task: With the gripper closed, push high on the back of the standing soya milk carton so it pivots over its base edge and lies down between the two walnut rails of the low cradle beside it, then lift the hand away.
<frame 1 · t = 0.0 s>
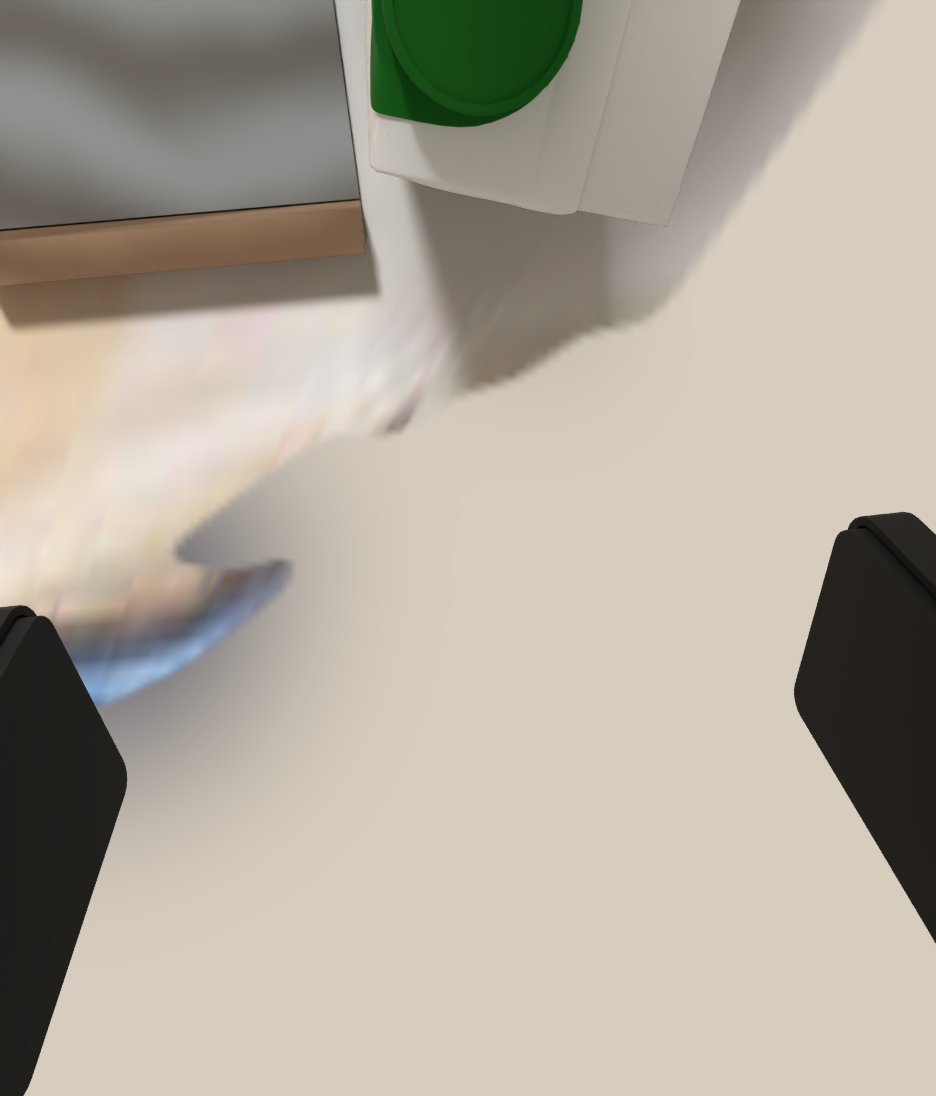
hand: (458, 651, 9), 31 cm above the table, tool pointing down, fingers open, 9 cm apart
soya milk: (480, 17, 31), on the table
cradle: (116, 45, 31), on the table
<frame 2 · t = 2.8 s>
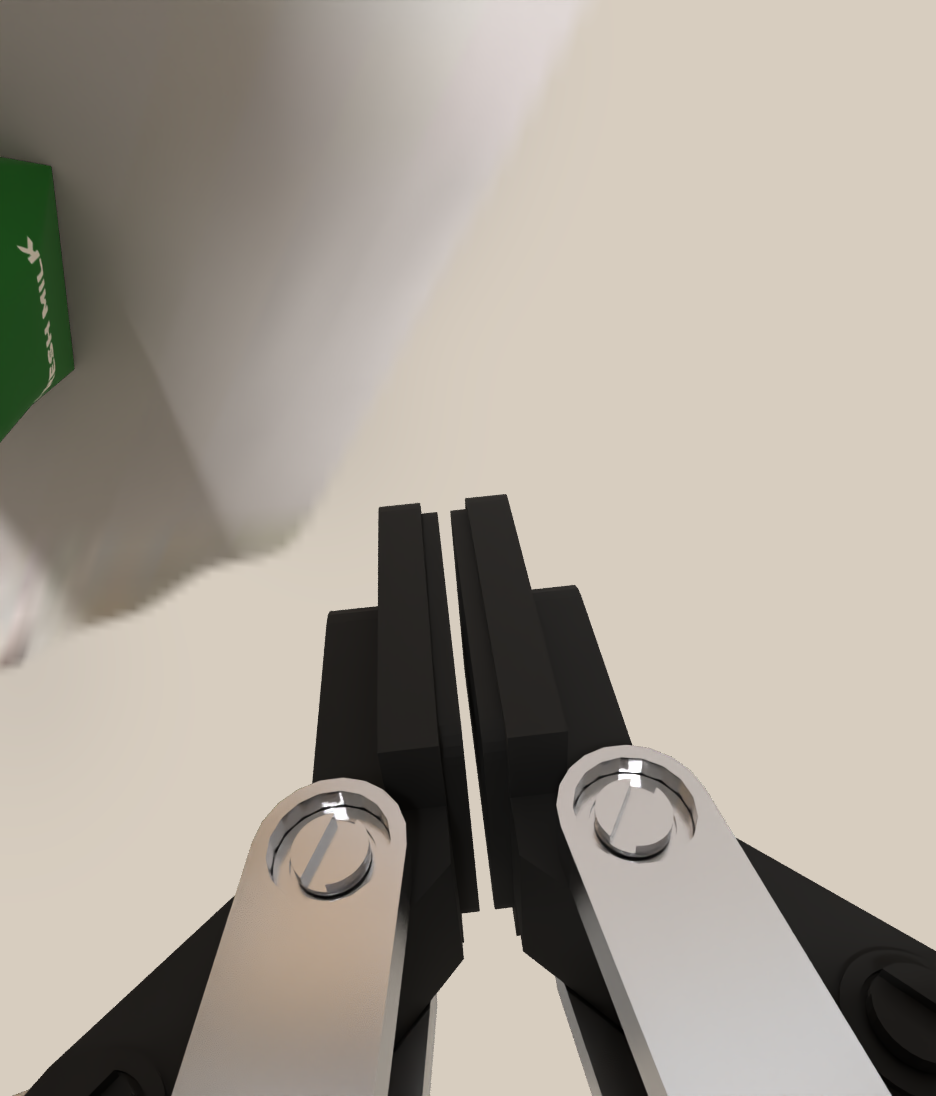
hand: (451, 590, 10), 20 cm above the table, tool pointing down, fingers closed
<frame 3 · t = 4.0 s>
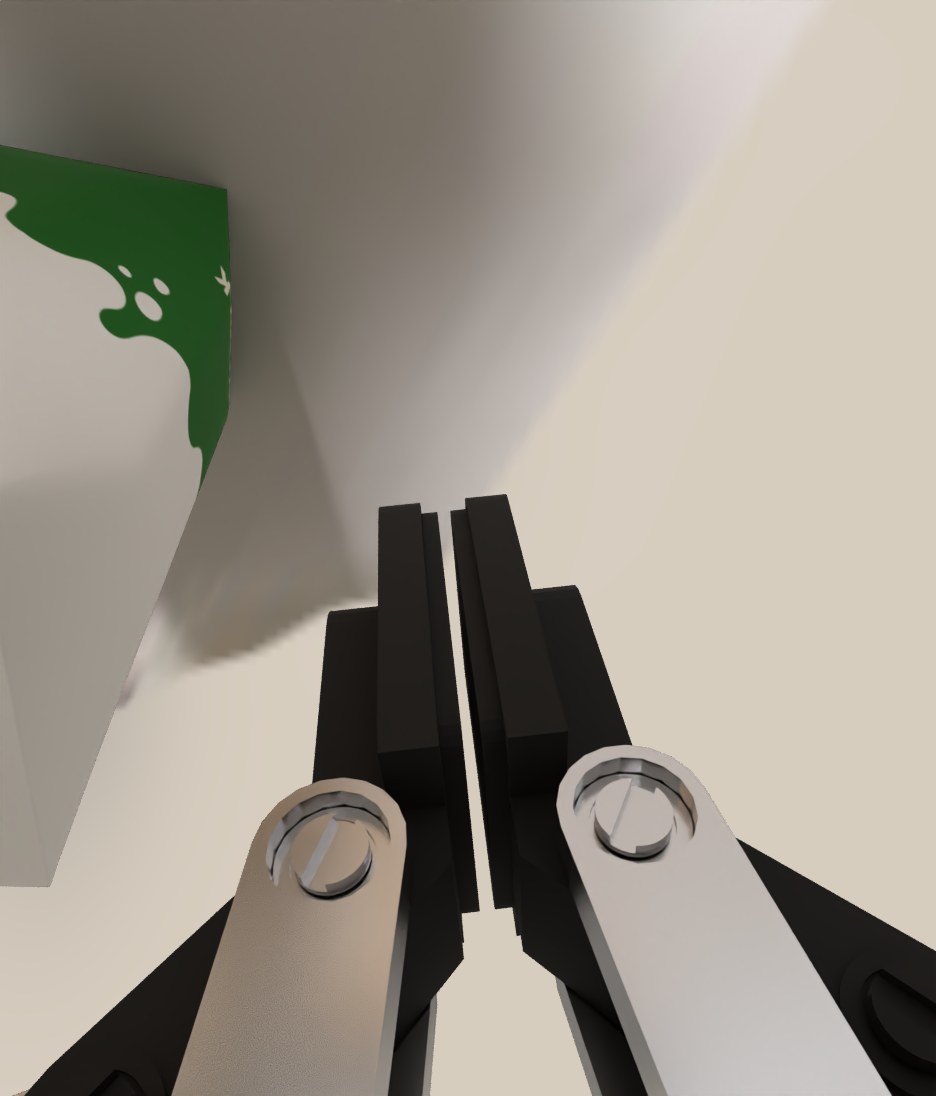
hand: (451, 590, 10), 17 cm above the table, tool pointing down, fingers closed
soya milk: (113, 282, 24), on the table
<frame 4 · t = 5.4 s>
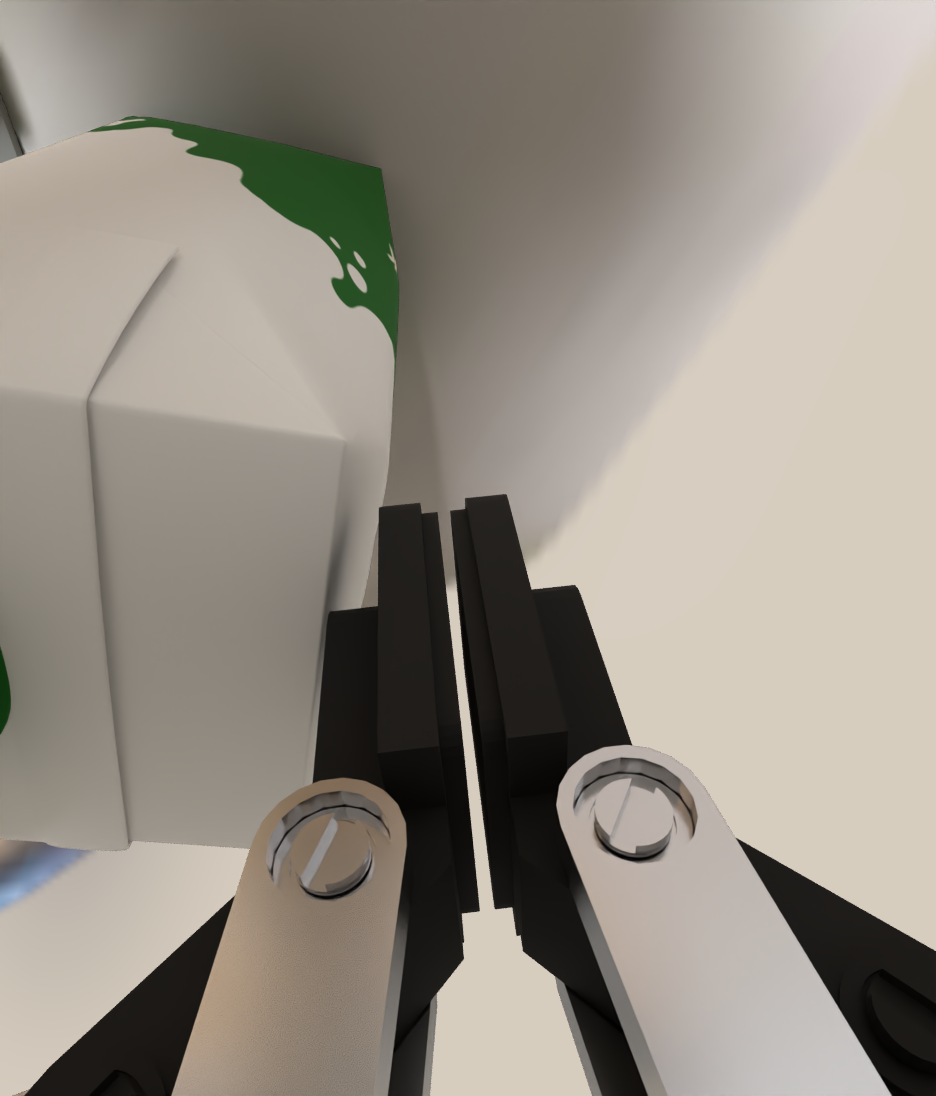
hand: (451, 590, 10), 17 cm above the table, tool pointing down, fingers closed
soya milk: (259, 262, 24), on the table, touching gripper
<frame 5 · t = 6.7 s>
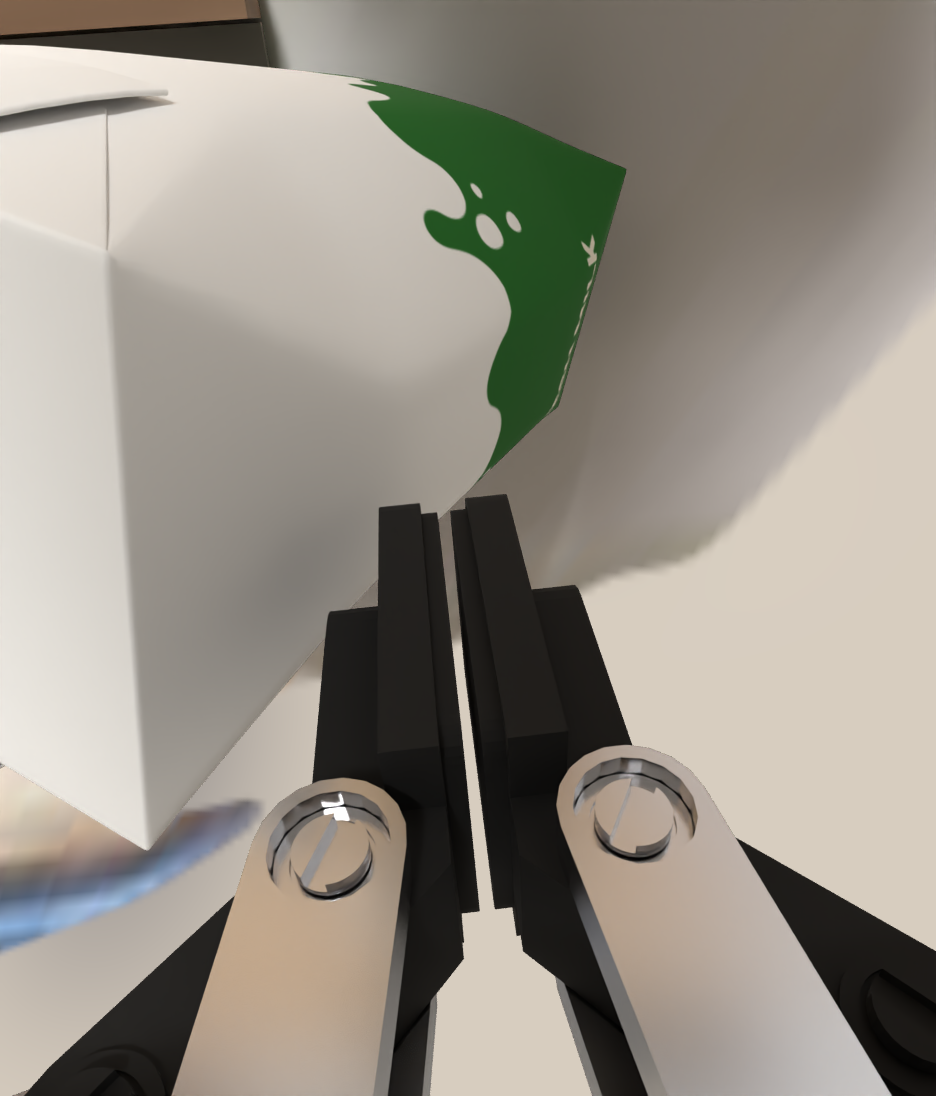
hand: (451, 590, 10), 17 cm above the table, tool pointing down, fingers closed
soya milk: (485, 263, 23), point 2 cm above the table
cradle: (17, 290, 23), on the table
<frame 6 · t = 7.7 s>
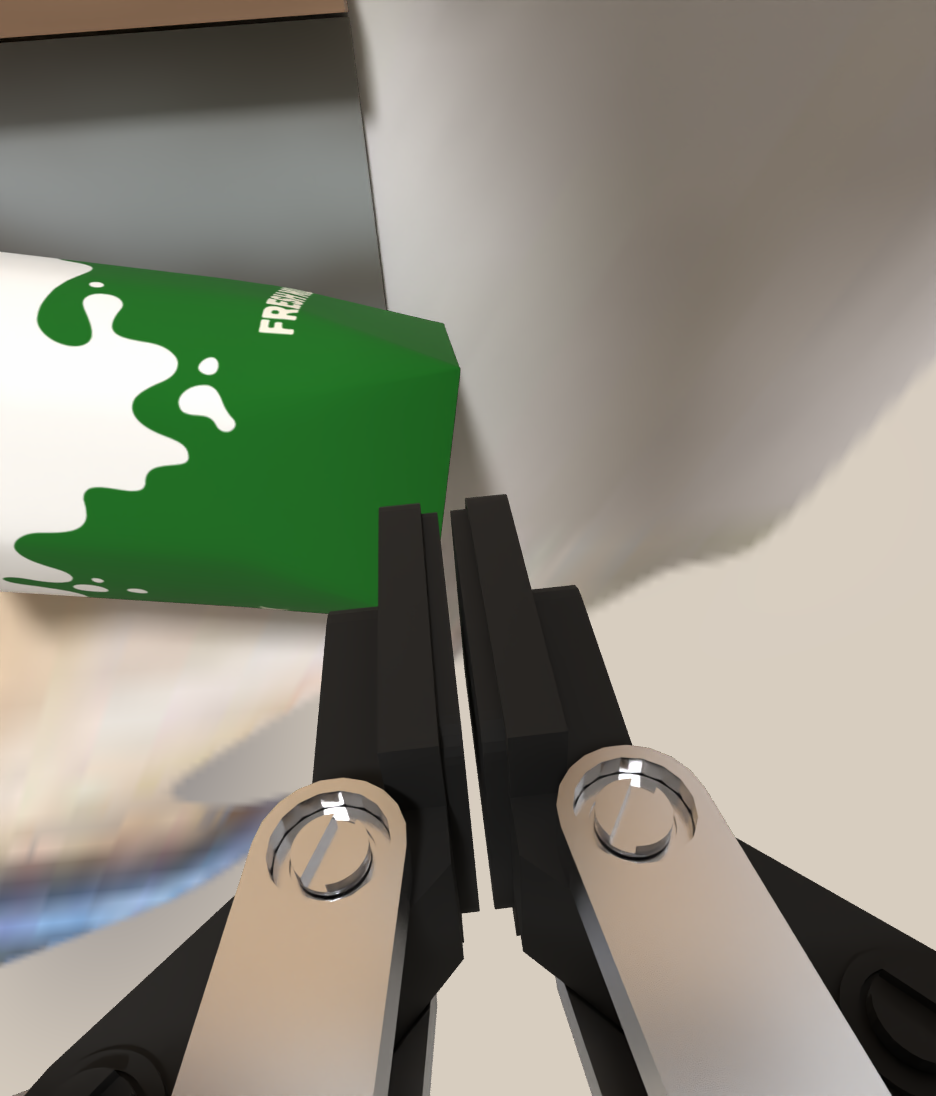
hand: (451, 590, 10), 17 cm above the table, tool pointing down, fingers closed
soya milk: (445, 464, 22), point 5 cm above the table, touching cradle
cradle: (95, 285, 24), on the table
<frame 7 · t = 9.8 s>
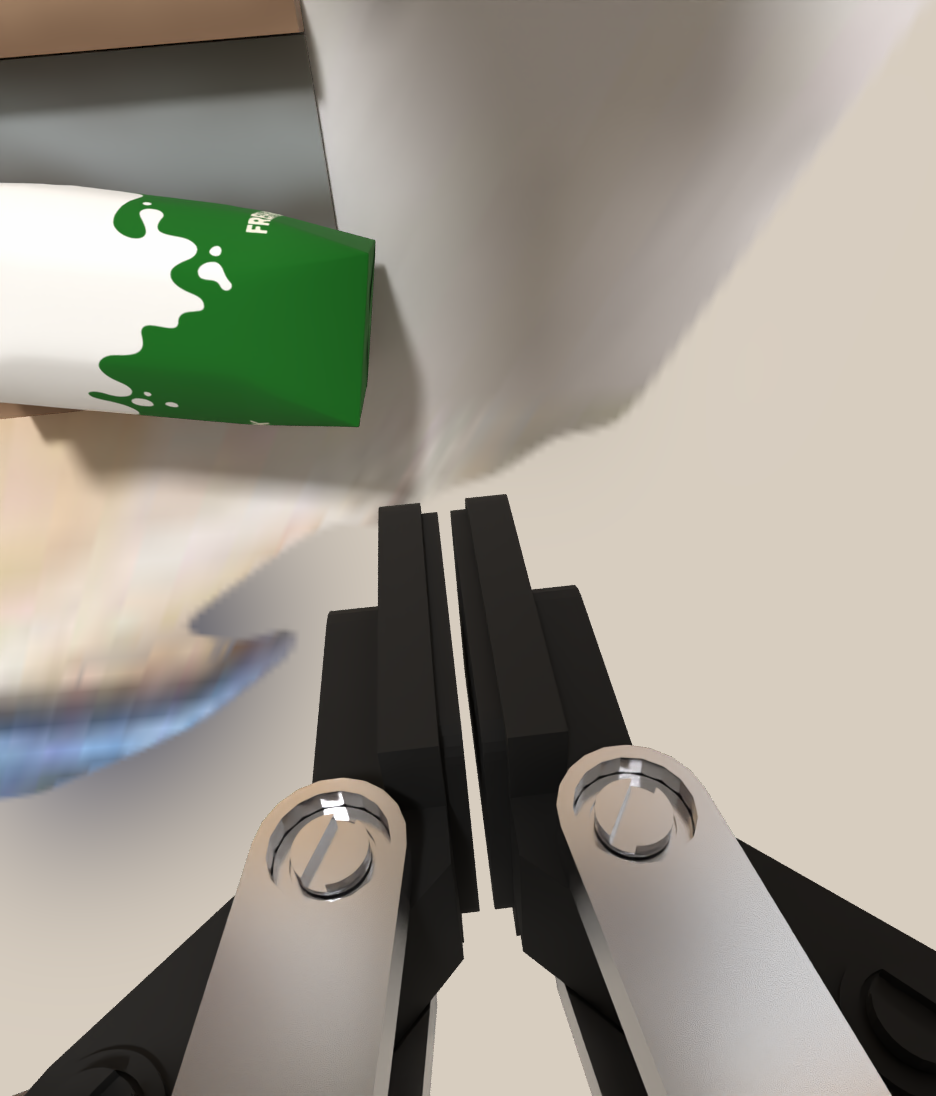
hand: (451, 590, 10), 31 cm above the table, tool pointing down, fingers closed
soya milk: (372, 331, 34), point 5 cm above the table, touching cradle
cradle: (140, 215, 35), on the table
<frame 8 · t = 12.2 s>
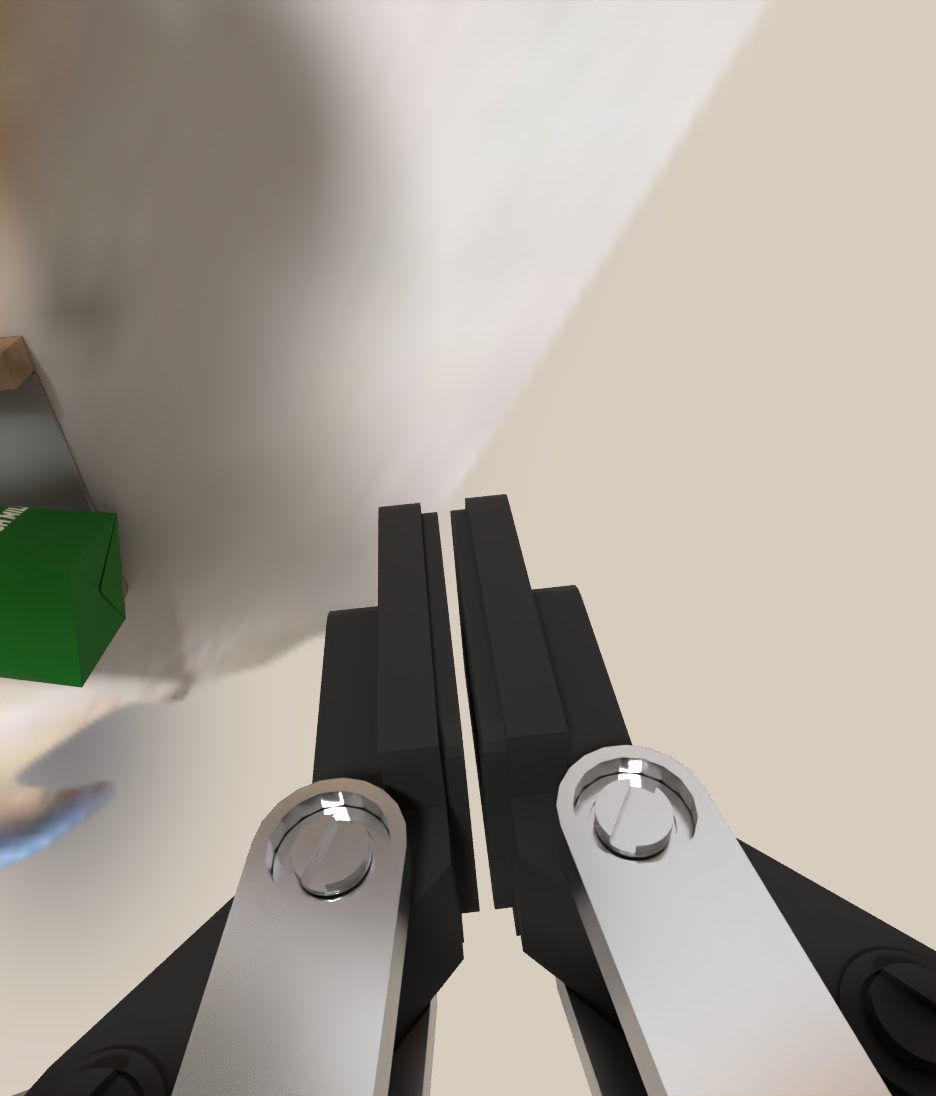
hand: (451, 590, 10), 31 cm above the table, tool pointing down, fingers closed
soya milk: (105, 598, 41), point 5 cm above the table, touching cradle
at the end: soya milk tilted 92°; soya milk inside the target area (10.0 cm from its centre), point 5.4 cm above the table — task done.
